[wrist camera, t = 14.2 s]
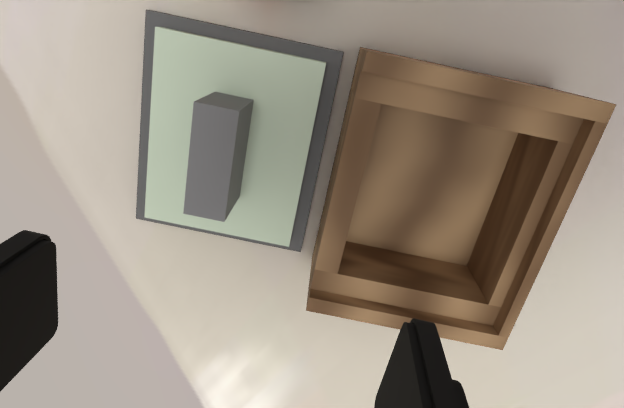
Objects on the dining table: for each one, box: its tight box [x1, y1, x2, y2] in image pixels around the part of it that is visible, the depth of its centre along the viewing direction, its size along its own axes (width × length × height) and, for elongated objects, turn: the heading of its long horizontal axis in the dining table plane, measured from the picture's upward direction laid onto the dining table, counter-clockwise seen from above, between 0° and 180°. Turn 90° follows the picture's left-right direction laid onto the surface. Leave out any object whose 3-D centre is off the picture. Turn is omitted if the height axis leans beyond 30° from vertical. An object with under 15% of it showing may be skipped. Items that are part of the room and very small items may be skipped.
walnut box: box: [306, 47, 616, 350], centre depth 28 cm, size 13×16×7 cm
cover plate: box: [144, 27, 326, 247], centre depth 28 cm, size 11×13×6 cm
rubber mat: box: [136, 10, 343, 252], centre depth 31 cm, size 15×13×1 cm
